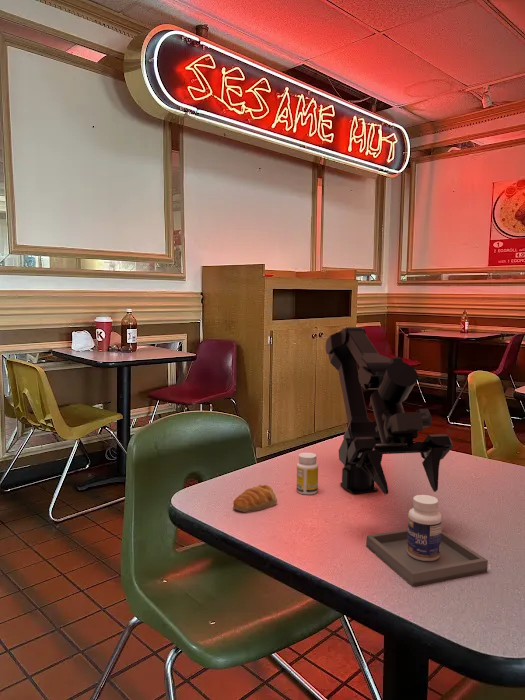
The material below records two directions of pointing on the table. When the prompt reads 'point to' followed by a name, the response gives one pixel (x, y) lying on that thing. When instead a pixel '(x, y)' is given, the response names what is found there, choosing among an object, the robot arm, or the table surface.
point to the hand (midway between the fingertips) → (411, 492)
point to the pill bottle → (424, 529)
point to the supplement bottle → (307, 474)
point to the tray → (449, 565)
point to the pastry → (255, 499)
